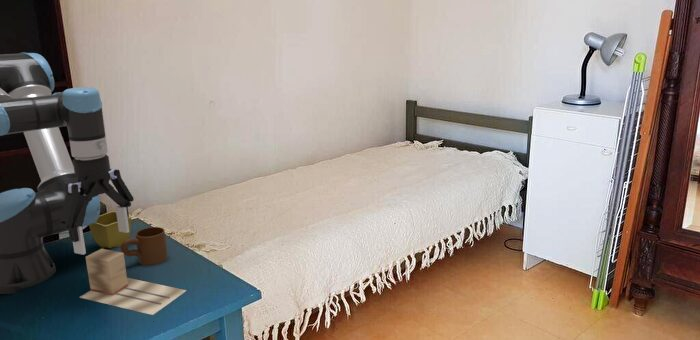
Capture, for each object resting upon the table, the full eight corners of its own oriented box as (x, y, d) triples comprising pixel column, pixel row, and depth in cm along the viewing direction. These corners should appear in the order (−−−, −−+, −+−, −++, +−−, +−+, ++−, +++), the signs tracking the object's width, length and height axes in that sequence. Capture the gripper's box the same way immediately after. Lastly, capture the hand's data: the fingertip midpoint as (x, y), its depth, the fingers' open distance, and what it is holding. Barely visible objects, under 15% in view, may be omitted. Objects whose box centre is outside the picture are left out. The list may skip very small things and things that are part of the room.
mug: (130, 277, 142) (125, 244, 139) (118, 268, 147) (114, 236, 145) (173, 263, 150) (169, 231, 147) (160, 255, 155) (157, 224, 153)
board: (79, 301, 130) (79, 297, 130) (117, 279, 141) (116, 275, 141) (153, 319, 123) (152, 314, 122) (187, 294, 133) (186, 290, 133)
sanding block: (90, 290, 133) (85, 256, 131) (106, 281, 138) (101, 248, 135) (112, 295, 131) (107, 261, 128) (128, 286, 135) (123, 252, 133)
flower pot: (135, 244, 163) (132, 216, 160) (109, 255, 155) (105, 225, 153) (117, 238, 167) (113, 210, 165) (90, 248, 160) (86, 219, 157)
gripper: (56, 171, 112) (72, 265, 118) (142, 145, 135) (151, 225, 140) (30, 168, 115) (46, 260, 121) (118, 143, 137) (128, 222, 143)
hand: (103, 242), depth 131 cm, fingers open, 13 cm apart
